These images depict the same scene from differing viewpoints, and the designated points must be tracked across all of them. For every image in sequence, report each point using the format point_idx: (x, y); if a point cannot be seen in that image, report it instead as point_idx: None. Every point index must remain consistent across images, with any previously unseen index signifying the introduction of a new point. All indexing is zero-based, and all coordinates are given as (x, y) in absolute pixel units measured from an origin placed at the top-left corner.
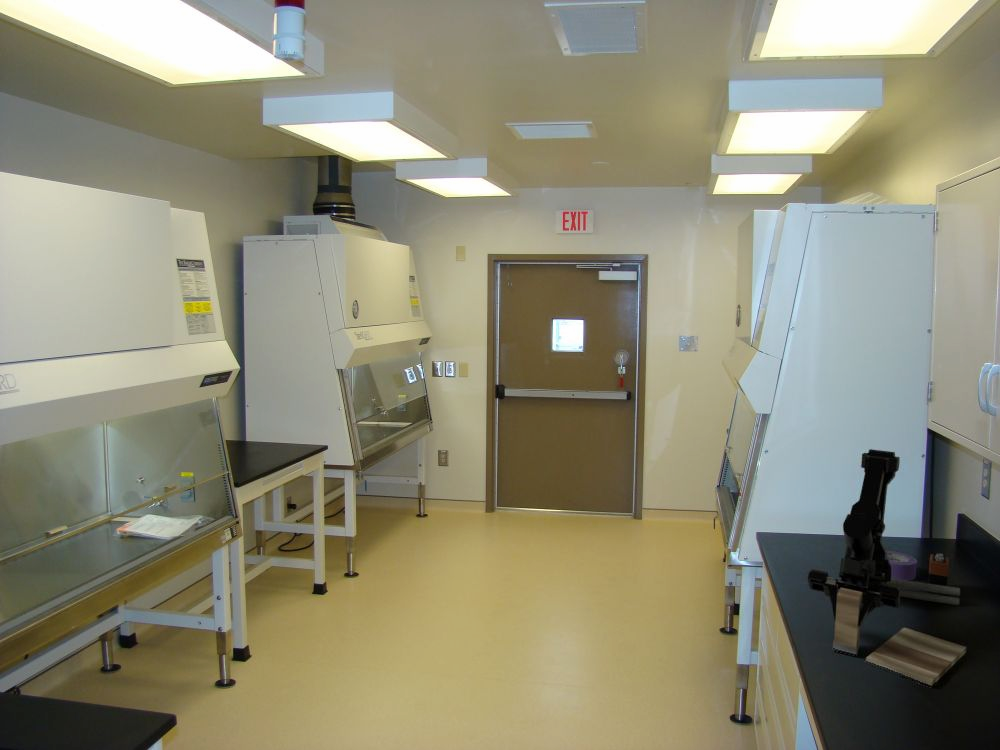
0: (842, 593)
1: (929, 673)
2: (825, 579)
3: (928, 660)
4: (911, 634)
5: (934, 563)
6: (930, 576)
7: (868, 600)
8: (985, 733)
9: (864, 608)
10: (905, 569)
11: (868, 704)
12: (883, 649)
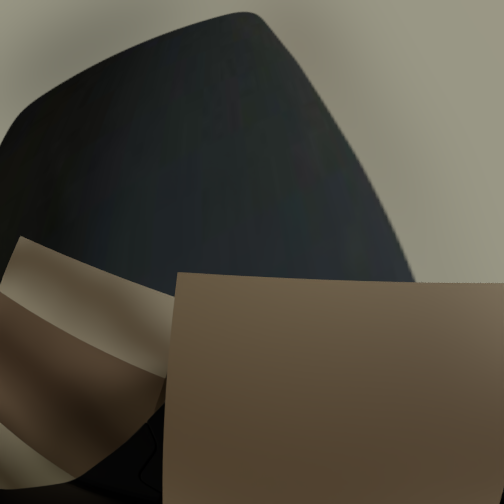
0: (474, 371)
1: (15, 281)
2: None
3: (8, 379)
4: None
5: None
6: None
7: (99, 497)
8: (14, 125)
9: (161, 440)
10: None
11: (193, 89)
12: (130, 418)
